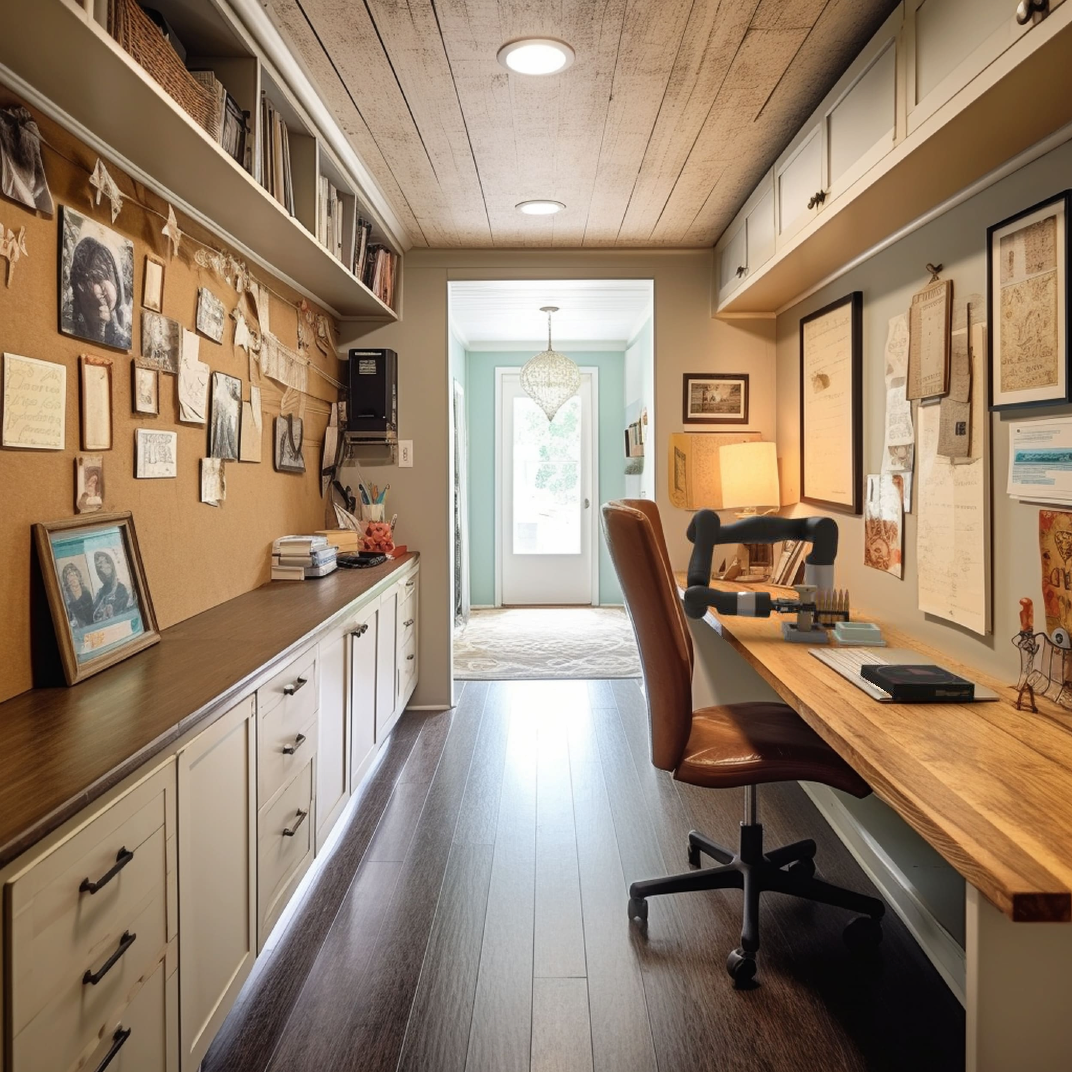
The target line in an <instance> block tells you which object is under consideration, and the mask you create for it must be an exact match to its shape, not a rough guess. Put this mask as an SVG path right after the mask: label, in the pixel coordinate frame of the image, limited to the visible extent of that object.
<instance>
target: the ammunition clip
mask: <svg viewBox="0 0 1072 1072" xmlns="http://www.w3.org/2000/svg"><path fill="white" fill-rule="evenodd" d="M849 593H850V592H849V589H847V588H846V589H845V592H844V593H843V589H842V588H840V589H839V592H837V589H836V588H833V600H832V610H831V592H830V589H828V592H827V600H826V610H825V592H824V589H822V591H821V599H820V610H819V592H818V589H817V591H815V597H814V603H815V604H816V612H813V616H812V622H813V623H821V624H822V625H823V627H824V628H834V627H835V625H836V622H850V594H849Z"/></svg>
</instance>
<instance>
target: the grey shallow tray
mask: <svg viewBox="0 0 1072 1072" xmlns="http://www.w3.org/2000/svg"><path fill="white" fill-rule="evenodd" d="M830 634H831V636H832V637H833V638H834V639H835V640H836V642H837V643H838V645H843V646H864V647H865V646H866V647H867V646H869V647H883V648H885V647H886V648H887V642H886V641H885V640H883V638H882V629H881V628H880V627H878V625H876V624H875V623H874V622H853V621H852V622H850V621H849V622H836V625H835V629H830Z"/></svg>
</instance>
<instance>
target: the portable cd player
mask: <svg viewBox="0 0 1072 1072" xmlns="http://www.w3.org/2000/svg"><path fill="white" fill-rule="evenodd" d="M860 667H861V668H860V672H859V674H860V675H861V676H862V677H863V678H865V679H866V680H868V681H870V682H871V683H873V684H875V685H876V686H878V687H880V688H881V689H883V690H884V691H886V692H887V693H889V694H890V695H891V696H892V698H893V700H892V701H894V702H895V701H896V702H897V700H898V701H902V702H903V701H904V702H905V701H906V702H907V701H908V702H918V701H919V702H975V691H976V690H975V685H976V684H975V683H973V682H971V681H969V680H966V679H964V678H963V677H961V676H958V675H956V674H954V673H952V672H950V671H948V670H946V669H944V668H942V667H940V666H938V665H936V664H861V666H860ZM860 675H859V676H860Z"/></svg>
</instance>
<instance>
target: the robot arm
mask: <svg viewBox="0 0 1072 1072" xmlns="http://www.w3.org/2000/svg"><path fill="white" fill-rule="evenodd" d="M721 522H722V521H721V518H720V516H719V514H717V513H716V511H714V510H712V509H709V508H701V509H700V510H697V512H695V514H694V515H693V516H692V518H691V520H690V523H689V524H688V526H687V528H686V529H687V530H686V533H685V536H686V538H687V540H688V541H689V542H690V543H692V544H693V549H692V552H691V556H690V559H689V562H688V568H687V575H686V590H685V591H684V594H683V609H684V613H685V614H686V616H688V618H690V619H693V620H700V619H702V618H704V617H705V616H706V615H707V613H708V610H709V607H711V608H715V609H716V612H717V614H719V615H720V616H731V617H734V616H735V617H741V618H758V619H760V618H764V619H769V618H770V617H771V612H776V613H777V614H782V615H784V614H797V613H801V612H802V611H804V612H812V615H813V612H816V604H815V603H814V597H815V592H814V593H812V594H811V604H804V603H803V604H802V603H798V602H799V599H797V598H794V599H793V598H784V597H783V598H782V597H776V599H772V597H771V593H770V592H768V591H766V592H765V591H745V590H744V591H722V590H719V589H717V588H716V589H715V588H712V587H710V583H711V575H712V566H713V565H712V564H713V556H714V550H715V546H720V545H731V544H775V543H777V544H778V543H781V542H785V541H798V542H806V543H811V544H812V547H811V550H810V552H809V553H808V554H806V555H805V559H804V563H805V564H804V585H815V586H817V589H818V592H819V610H820V599H821V591H822V589H824V592H825V610H826V600H827V592H828V589H830V592H831V610H832V600H833V592H834V589H835V588H834V585H835V584H834V583H835V582H834V581H835V560H836V558H837V554H838V548H839V546H838V545H839V537H840V536H839V533H840V532H839V525H838V523H837V522H836V520H834V519H833V518H831V517H829V516H819V515H818V516H815V515H814V516H807V517H806V516H805V517H798V518H797V517H796V518H787V517H781V516H775V515H772V516H771V515H751V516H748V517H744V518H742V519H740V520H739V519H738V520H737V521H735V522H731V523H728V524H723V525H722V523H721Z"/></svg>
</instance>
